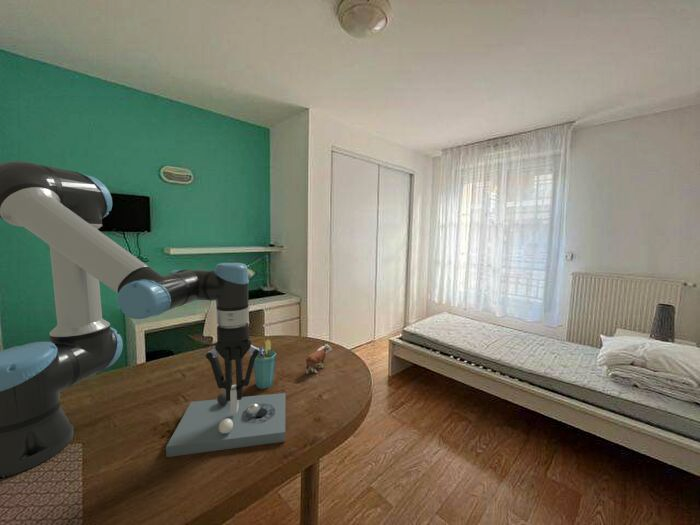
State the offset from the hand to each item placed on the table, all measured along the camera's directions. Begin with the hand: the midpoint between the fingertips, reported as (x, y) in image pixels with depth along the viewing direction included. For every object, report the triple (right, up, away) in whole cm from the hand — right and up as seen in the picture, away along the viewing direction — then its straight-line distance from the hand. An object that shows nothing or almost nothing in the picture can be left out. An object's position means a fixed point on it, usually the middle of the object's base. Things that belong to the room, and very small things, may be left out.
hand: (234, 410), depth 73 cm
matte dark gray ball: (-5, +1, +5) cm, 7 cm away
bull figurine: (+18, -2, +32) cm, 37 cm away
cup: (+2, -2, +19) cm, 19 cm away
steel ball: (+5, 0, +1) cm, 5 cm away
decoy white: (0, -1, -6) cm, 6 cm away
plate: (0, -4, +1) cm, 4 cm away
